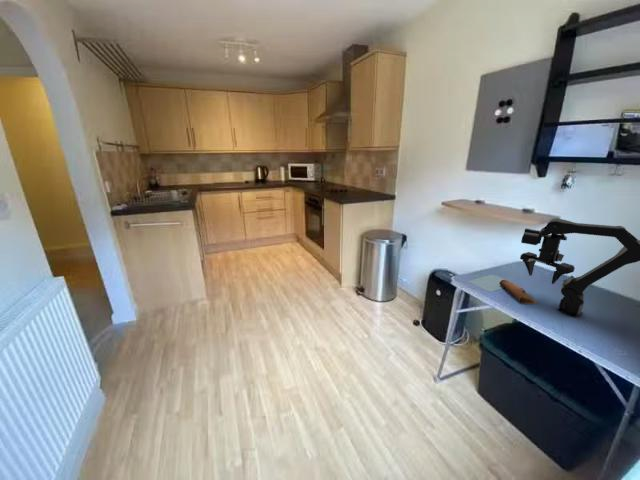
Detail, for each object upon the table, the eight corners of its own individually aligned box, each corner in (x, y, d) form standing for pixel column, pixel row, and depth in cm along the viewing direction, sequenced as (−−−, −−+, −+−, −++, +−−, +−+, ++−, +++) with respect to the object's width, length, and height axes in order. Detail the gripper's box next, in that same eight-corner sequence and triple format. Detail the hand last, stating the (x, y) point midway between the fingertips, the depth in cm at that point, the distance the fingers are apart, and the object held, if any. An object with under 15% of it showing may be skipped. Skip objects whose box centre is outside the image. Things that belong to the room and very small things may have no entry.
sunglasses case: (538, 303, 126) (533, 292, 124) (523, 309, 127) (518, 298, 126) (515, 284, 143) (510, 274, 141) (502, 290, 144) (497, 280, 143)
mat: (515, 284, 145) (515, 283, 144) (489, 292, 137) (489, 292, 137) (492, 275, 156) (492, 274, 156) (467, 282, 149) (467, 281, 149)
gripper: (586, 251, 113) (576, 284, 118) (537, 238, 130) (530, 268, 135) (571, 255, 109) (561, 290, 114) (522, 242, 125) (515, 272, 130)
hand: (541, 279), depth 123 cm, fingers open, 9 cm apart
